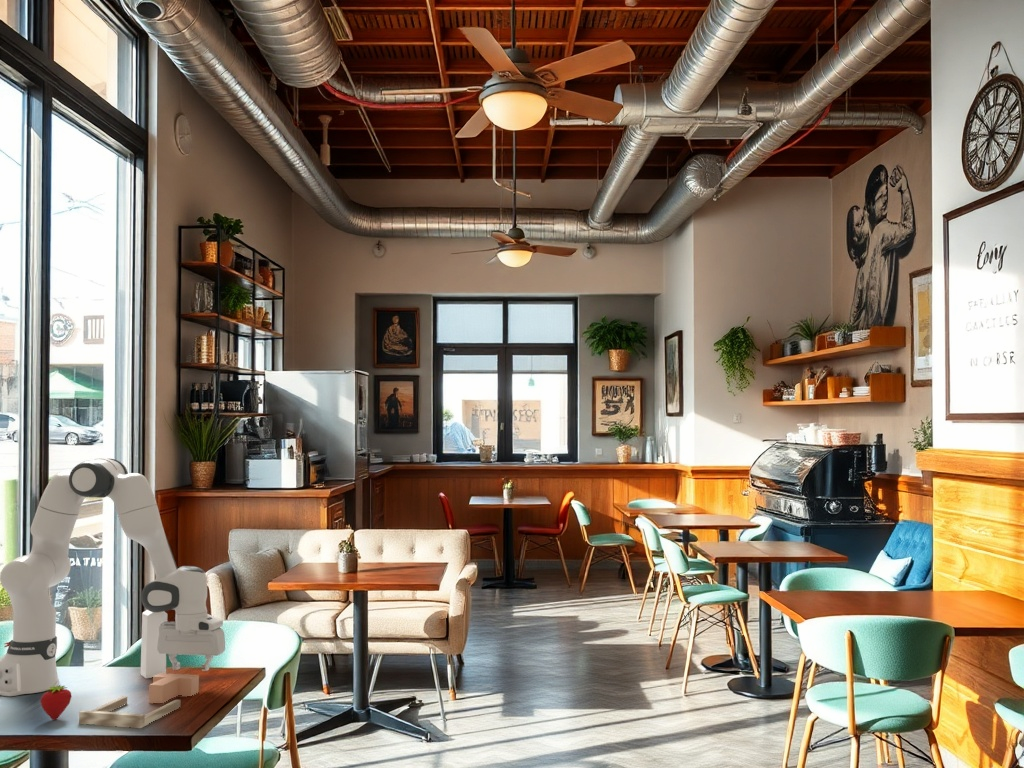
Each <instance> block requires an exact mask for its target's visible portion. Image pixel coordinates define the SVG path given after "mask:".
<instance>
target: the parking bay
mask: <svg viewBox="0 0 1024 768" xmlns="http://www.w3.org/2000/svg"><path fill="white" fill-rule="evenodd" d="M124 704H126V705H128V696H123V695H122V696H120V697H118V698H116V699H113V700H111V701H109V702H107V703H105V704H102V705H100V706H98V707H96V708H94V709H92V710H86V709H85V710H80V711H79V712H78V725H86V724H95V725H94V726H101V725H106V726H105V727H115V726H117V728H118V727H119V728H129V727H131V728H132V729H142V728H144V727H146V726H148V725H150V724H152V723H154V722H155V720H156V721H157V720H159V719H162V718H163V717H165V716H167V715H168V713H169V714H171V713H173V712H174V710H175V711H176V710H178V709H180V708H181V699H174V700H172V701H170V702H168V703H166V704H163V706H160V707H158V708H156V709H154V710H152V711H150V712H148V713H146V714H145V713H133V712H131V713H129V712H116V711H115V710H114V709H116V708H118V707H120V706H122V705H124ZM124 706H125V705H124ZM122 707H123V706H122ZM179 707H180V708H179ZM120 708H121V707H120ZM118 709H119V708H118ZM112 710H113V711H112ZM116 710H117V709H116ZM110 711H111V712H110ZM114 711H115V712H114ZM172 711H173V712H172ZM170 712H171V713H170ZM166 714H167V715H166ZM164 715H165V716H164ZM162 716H163V717H162ZM153 721H154V722H153ZM151 722H152V723H151ZM149 723H150V724H149Z"/></svg>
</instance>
